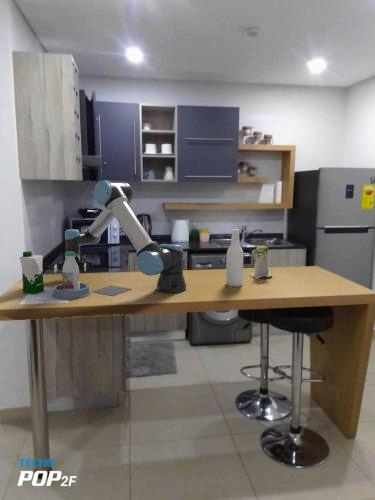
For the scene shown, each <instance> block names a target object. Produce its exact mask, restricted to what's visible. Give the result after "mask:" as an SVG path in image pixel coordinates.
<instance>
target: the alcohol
mask: <svg viewBox="0 0 375 500" xmlns="http://www.w3.org/2000/svg"><path fill="white" fill-rule="evenodd" d="M225 269H226V274H225V275H226V277H225V278H226V279H225V284H226V285H227V286H229V287H241V286H242V285H244V284H243V282H244V281H243V280H244V278H243V277H244V250H243V248H242V247H241V244H240V229H239V228H232V229H231V241H230V246H229V247H228V249H227V251H226V268H225Z"/></svg>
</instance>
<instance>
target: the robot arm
mask: <svg viewBox="0 0 375 500" xmlns="http://www.w3.org/2000/svg"><path fill="white" fill-rule="evenodd" d="M93 198H94V201H95V202H96V203H97V204H98V205H100V206H104V209H103V210H102V211H101V212H100V214H98V216H97V218H96V219H95V220H94V221H93V222H92V224H91V225H89V227H88V229H86V231H80V229H74V228H73V229H66V230H65V231H64V241H65V252H68V251H73V252H75V260H76V263H77V264H78V267H79V268H84V270H83V271H84V272H86V271H87V269H89V268H90V269H92V268H93V262H91V261H89V260H88V261H87V260H86V259H83V260H82V261H81V246H87V245H94V244H99V242H101V241H100V240H101V235H102V234H103V233H104V232H105V231H106V229H107V228H108V227H109V226H110V225H111V223H112V222H114V220H115V219H116V221H117V222H118V224H119V225H120V226H121V228H122V230H123V231H124V234H126V236H127V237H128V240H130V243H132V245H133V246H134V248H135V250H136V253H135V256H136V257H137V258H136V265H137V267H138V270H139V271H140V272H141V273H142V274H144V275H145V276H149V277H151V276H152V277H153V276H158V275H159V277H158V280H157V283H156V290H157V291H158V292H161V293H165V294H166V293H167V294H169V293H170V294H173V293H174V294H175V293H176V294H177V293H182V292H184V291H186V290H187V283H186V279H185V276H184V271H183V270H184V247H183V246H182V245H179V244H167V243H161V244H158V242H157V241H153V239H152V238H151V237H150V236H149V234H148V233H147V231H146V230H145V228H144V226H143V225H142V224H141V222H140V220H139V219H138V218H137V216H136V214H135V213H134V211H133V210H132V209H131V207H130V204H131V202H132V201H133V198H134V190H133V187H132V186H131V185H130V184H129V183H128V182H125V181H122V180H108V179H105V180H100V181H98V182H97V183H96V185H95V186H94V189H93ZM65 259H66V257H65V258H64V260H63V261H61V260H58V261H55V262H53V263H49V265H48V267H49V271H50V270H51V271H53V272H54V273H57V271H58V270H59V269H63V265H64V263H65Z"/></svg>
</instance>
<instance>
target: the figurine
mask: <svg viewBox="0 0 375 500" xmlns="http://www.w3.org/2000/svg"><path fill="white" fill-rule="evenodd" d="M268 251H269V247H268V246H265V245H259V246H257V247H256V248H255V249H254V256H256V257H257V258H256V260H255V263H254V266H253V267H254V268H253V269H254V270H255V271H254V272H251V271H250V273H249V277H251V278H253V279H257V280H258V279H260V278H263V277H267V278H270V277H273V273H269V266H268V260H267V257H268Z"/></svg>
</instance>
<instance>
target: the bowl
mask: <svg viewBox="0 0 375 500" xmlns="http://www.w3.org/2000/svg"><path fill="white" fill-rule="evenodd" d="M91 293H92V291H91V290H90V284H89V283H85V282H81V281H80V289H79V290H70V291H63V283H60V284H57V285H54V286H53V289H52V297H54V299H55V300H64V301H65V300H66V301H67V300H69V301H70V300H79V299H83V298H87V297H88V296H90V295H91Z"/></svg>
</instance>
